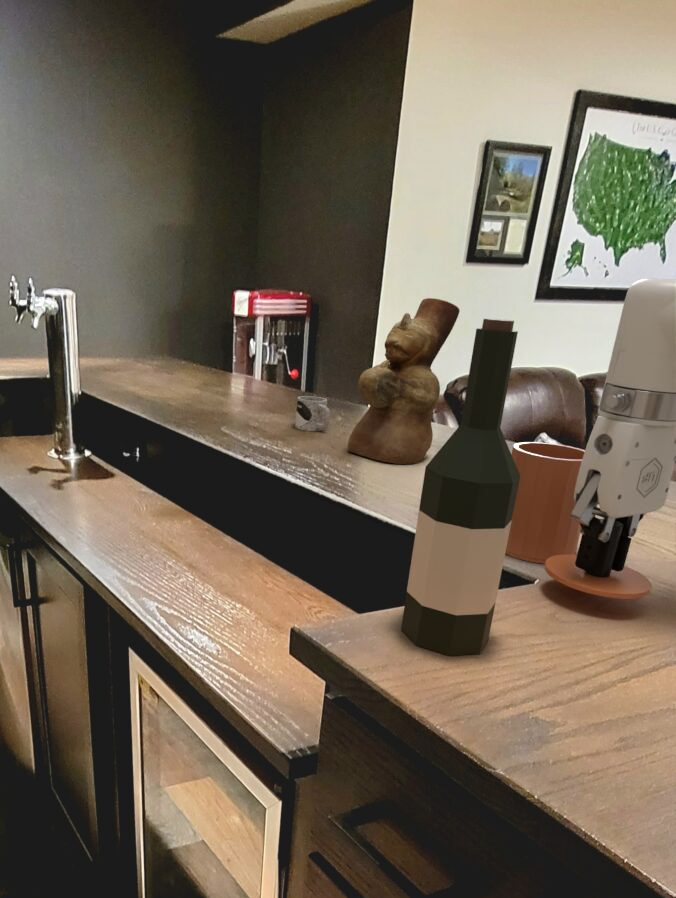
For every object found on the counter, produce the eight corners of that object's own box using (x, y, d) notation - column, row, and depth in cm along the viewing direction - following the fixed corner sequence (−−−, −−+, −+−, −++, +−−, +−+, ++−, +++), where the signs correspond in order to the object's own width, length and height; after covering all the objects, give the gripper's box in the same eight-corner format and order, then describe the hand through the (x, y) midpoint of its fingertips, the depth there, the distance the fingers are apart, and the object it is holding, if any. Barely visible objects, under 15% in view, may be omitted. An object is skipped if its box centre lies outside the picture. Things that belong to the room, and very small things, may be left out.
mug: (289, 425, 165) (291, 396, 163) (313, 424, 168) (316, 395, 166) (314, 434, 157) (317, 404, 155) (339, 433, 160) (342, 403, 158)
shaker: (554, 539, 100) (575, 444, 96) (587, 566, 91) (612, 463, 87) (484, 534, 100) (502, 439, 96) (510, 562, 91) (530, 458, 86)
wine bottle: (437, 609, 76) (487, 316, 67) (506, 643, 70) (571, 324, 60) (383, 627, 72) (427, 315, 62) (451, 665, 65) (512, 323, 56)
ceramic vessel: (331, 449, 144) (348, 293, 135) (402, 440, 157) (423, 296, 147) (392, 468, 132) (415, 298, 123) (464, 457, 145) (490, 302, 136)
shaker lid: (618, 567, 86) (633, 510, 84) (669, 607, 76) (688, 543, 73) (528, 560, 86) (541, 503, 84) (567, 600, 76) (583, 536, 73)
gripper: (627, 415, 67) (582, 593, 73) (721, 409, 75) (673, 571, 81) (558, 400, 73) (521, 566, 79) (651, 396, 81) (612, 548, 87)
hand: (598, 567), depth 80 cm, fingers closed on shaker lid, 2 cm apart
